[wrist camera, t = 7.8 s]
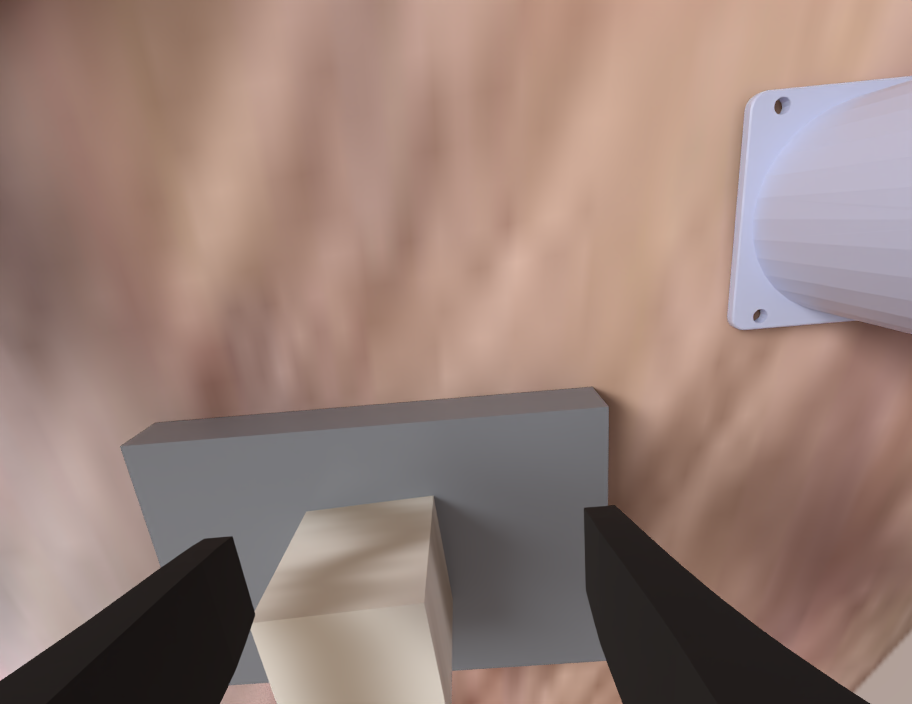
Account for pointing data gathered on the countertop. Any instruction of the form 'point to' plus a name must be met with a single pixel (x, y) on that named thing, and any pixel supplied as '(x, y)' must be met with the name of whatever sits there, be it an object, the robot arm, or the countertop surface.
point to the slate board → (403, 477)
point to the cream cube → (360, 609)
